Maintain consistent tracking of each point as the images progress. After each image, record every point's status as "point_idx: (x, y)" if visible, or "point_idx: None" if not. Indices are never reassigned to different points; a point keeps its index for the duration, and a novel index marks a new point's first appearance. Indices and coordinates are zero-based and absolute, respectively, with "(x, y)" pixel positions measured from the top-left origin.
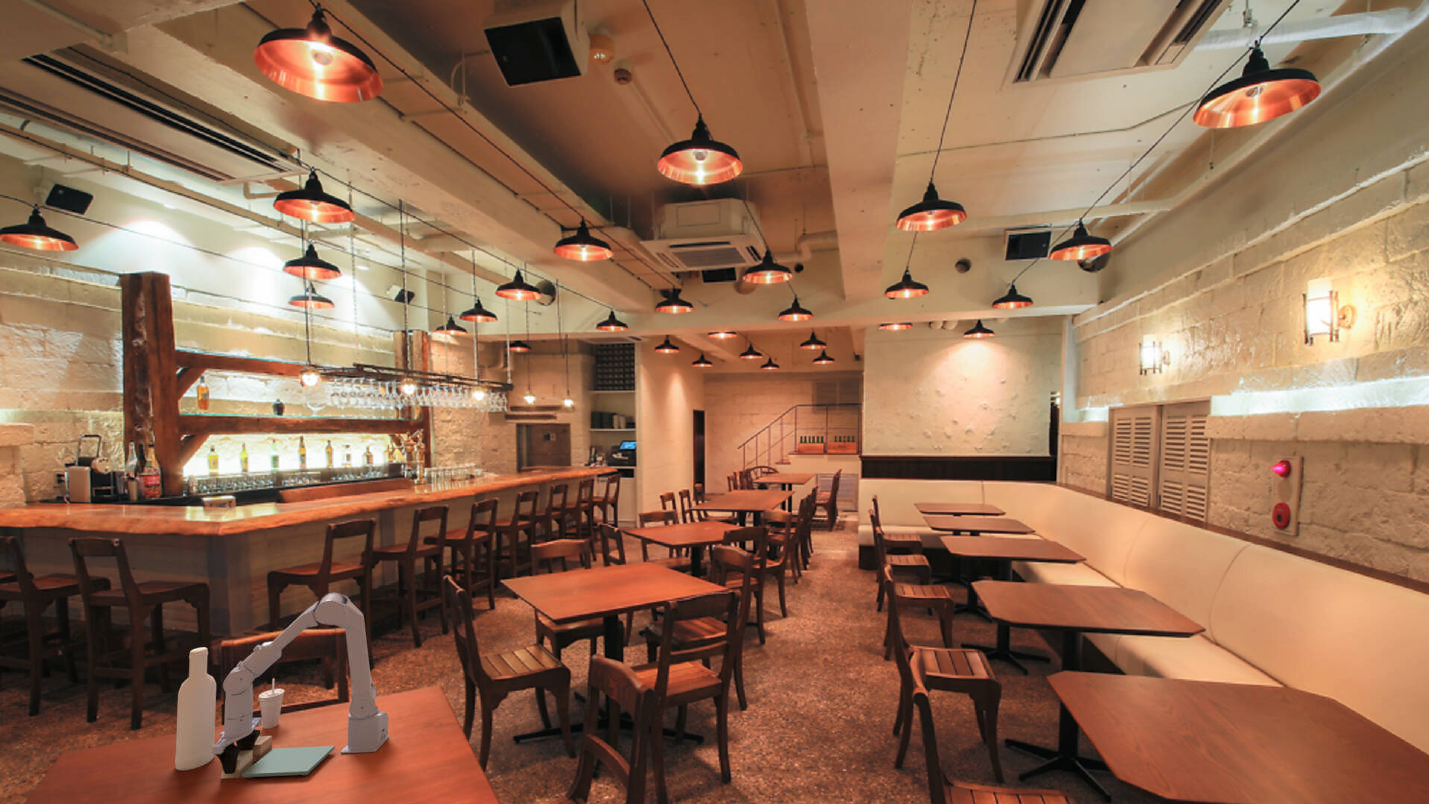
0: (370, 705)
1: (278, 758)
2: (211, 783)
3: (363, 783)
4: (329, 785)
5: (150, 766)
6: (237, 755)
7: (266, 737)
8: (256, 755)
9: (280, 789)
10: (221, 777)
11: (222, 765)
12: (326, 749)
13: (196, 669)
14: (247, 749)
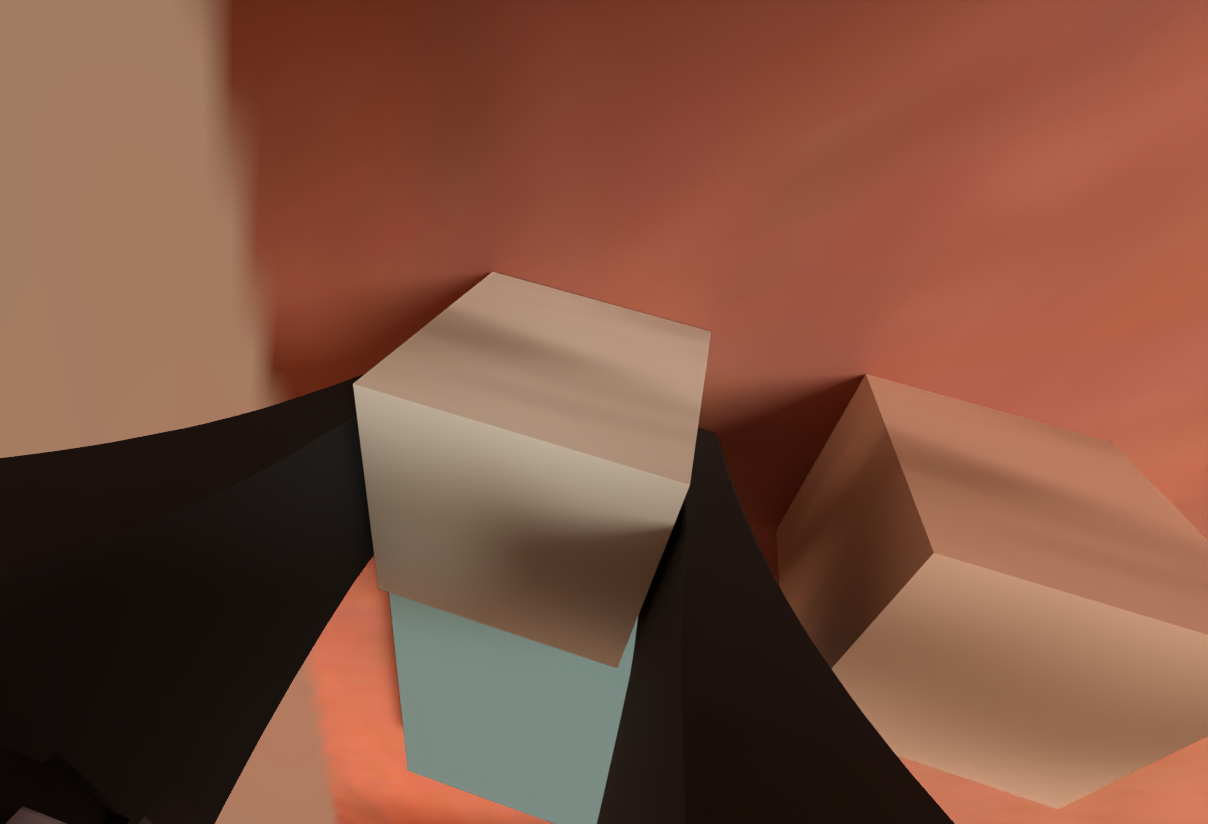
0: None
1: (610, 694)
2: (401, 200)
3: (384, 814)
4: (371, 763)
5: None
6: (301, 636)
7: (1050, 770)
8: (800, 553)
9: (334, 651)
10: (488, 278)
11: (326, 393)
12: None
13: None
14: (640, 637)
